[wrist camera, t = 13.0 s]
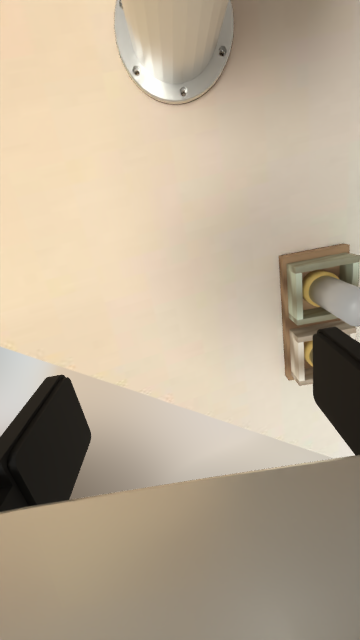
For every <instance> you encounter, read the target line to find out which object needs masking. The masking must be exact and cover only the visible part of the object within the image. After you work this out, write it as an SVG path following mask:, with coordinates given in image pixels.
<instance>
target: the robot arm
mask: <svg viewBox="0 0 360 640" xmlns="http://www.w3.org/2000/svg"><path fill="white" fill-rule="evenodd" d="M114 29H115V37H116V43H117V47H118V50H119V54H120V57H121V59H122V62H123V65H124V67H125V69H126V71H127V72H128V74H129V76H130V78H131V79H132V80H133V81H134V83H135V84H136V85H137V86H138V88H140V89H141V90H142V91H143V92H144V93H145V94H147V95H148V96H150V97H152V98H153V99H155V100H157V101H160V102H164V103H168V104H181V103H187V102H190V101H192V100H195V99H197V98H199V97H200V96H202V95H203V94H205V93H206V92H207V91H208V90H209V89H210V88H211V87H212V86H213V85H214V84H215V82H216V81H217V79H218V78H219V76H220V75H221V73H222V71H223V69H224V67H225V65H226V63H227V60H228V57H229V54H230V50H231V45H232V41H233V31H234V17H233V7H232V3H231V0H116V6H115V12H114ZM220 53H222V54H223V56H220V55H219V54H220ZM136 72H139V75H138V76H136V75H135V73H136ZM183 92H184V93H185V94H186V95H185V96H182V95H181V94H182V93H183ZM313 396H314V399H315V402H316V404H317V405H318V406H319V408H320V409H321V410H322V412H323V413H324V414H325V416H326V417H327V418H328V420H329V421H330V422H331V423H332V425H333V426H334V427H335V429H336V430H337V431H338V433H339V434H340V435H341V437H342V438H343V439H344V441H345V442H346V443H347V445H348V446H349V447H350V449H351V450H352V451H353V453H354V454H355V455H356V456H349V457H342V458H335V459H328V460H322V461H315V462H309V463H301V464H295V465H288V466H281V467H275V468H268V469H262V470H255V471H249V472H242V473H235V474H229V475H223V476H216V477H209V478H203V479H196V480H190V481H184V482H178V483H171V484H165V485H158V486H152V487H145V488H140V489H133V490H127V491H121V492H114V493H108V494H102V495H96V496H90V497H84V498H77V499H71V500H69V498H70V496H71V493H72V490H73V487H74V484H75V482H76V479H77V476H78V474H79V471H80V468H81V465H82V462H83V460H84V457H85V454H86V452H87V449H88V446H89V443H90V440H91V432H90V429H89V426H88V424H87V421H86V419H85V416H84V413H83V411H82V409H81V406H80V403H79V401H78V398H77V396H76V393H75V390H74V388H73V385H72V383H71V380H70V379H69V378H68V377H67V378H66V377H65V376H64V375H57V376H52V377H47V378H46V379H45V380H44V381H43V383H42V384H41V385H40V386H39V388H38V389H37V391H36V392H35V393H34V394H33V396H32V397H31V398H30V399H29V401H28V402H27V403H26V405H25V406H24V407H23V409H22V410H21V411H20V413H19V414H18V415H17V416H16V418H15V419H14V420H13V421H12V423H11V424H10V425H9V426H8V428H7V429H6V430H5V432H4V433H3V434H2V436H1V437H0V640H360V343H359V342H357V341H356V340H354V339H353V338H352V337H350V336H349V335H347V334H346V333H344V332H343V331H341V330H340V329H339V328H337V327H329V328H323V329H319V330H318V331H317V334H314V335H313Z"/></svg>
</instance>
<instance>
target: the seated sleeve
mask: <svg viewBox="0 0 360 640" xmlns="http://www.w3.org/2000/svg"><path fill="white" fill-rule="evenodd" d="M302 294H303V299H304V300H305V301H307V302H308V303H310V304H311V305H313V306H316V307H322V308H323V309H325V310H327V311H328V312H330V313H331V314H333V315H335V316H336V317H338V318H339V319H341V320H343V321H344V322H346V323H347V324H349V325H351V326H360V288H359V287H357V286H354V285H352V284H349V283H347V282H344V281H342V280H340V279H339V278H338V277H337V276H336V275H335V274H333V273H330V272H327V271H324V270H314V271H311V272H309V273H308V274H307V275H306V276H305V277H304V278H303V279H302Z"/></svg>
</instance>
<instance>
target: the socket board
mask: <svg viewBox="0 0 360 640" xmlns="http://www.w3.org/2000/svg"><path fill="white" fill-rule="evenodd" d="M349 246H350V245H348V244H339V245H333V246H328V247H323V248H318V249H312V250H307V251H302V252H297V253H291V254H286V255H281V256H279V268H280V286H281V304H282V323H283V341H284V359H285V376H286V377H287V378H288V380H294V379H295V380H296V382H297V383H298V385H299V386H302V385H307V384H313V367H312V366H311V365H310V364H309V363H308V362H307V361H306V360H305V359H304V342H306V341H312V340H313V335H314V334H317V331H318V330H319V329H323V328H329V327H337V328H339V329H340V330H341V331H343V332H344V333H346V334H347V335H349V336H350V337H352V338H353V339H354V340H356V327H355V326H351V325H349V324H347V323H346V322H344V321H343V320H341V319H339V318H338V317H336V316H335V315H333V314H331V313H330V312H328V311H327V310H325V309H323V308H322V307H316V306H313V305H311V304H310V303H308V302H307V301H305V300H304V299H303V294H302V279H303V278H304V277H305V276H306V275H307V274H308V273H309V272H311V271H314V270H324V271H327V272H330V273H333V274H335V275H336V276H337V277H338V278H339V279H340V280H342V281H344V282H347V283H349V284H352V285H354V286H357V287H358V284H359V264H360V255H355V254H351V253H349Z"/></svg>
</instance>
